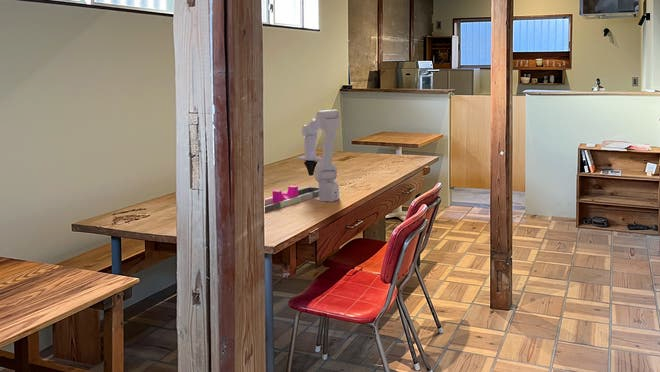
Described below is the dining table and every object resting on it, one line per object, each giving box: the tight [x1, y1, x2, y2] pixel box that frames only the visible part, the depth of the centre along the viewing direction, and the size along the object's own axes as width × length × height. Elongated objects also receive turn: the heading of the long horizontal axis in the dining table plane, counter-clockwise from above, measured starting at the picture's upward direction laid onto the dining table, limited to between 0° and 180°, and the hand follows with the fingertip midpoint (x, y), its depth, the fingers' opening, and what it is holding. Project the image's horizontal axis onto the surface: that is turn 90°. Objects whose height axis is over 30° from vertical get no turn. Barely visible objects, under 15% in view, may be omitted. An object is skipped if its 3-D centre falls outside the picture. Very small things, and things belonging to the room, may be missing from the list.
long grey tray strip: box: [264, 186, 319, 213], centre depth 338 cm, size 12×50×2 cm, turn 146°
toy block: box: [272, 185, 299, 204], centre depth 333 cm, size 15×6×8 cm, turn 146°
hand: (311, 175), depth 354 cm, fingers closed
